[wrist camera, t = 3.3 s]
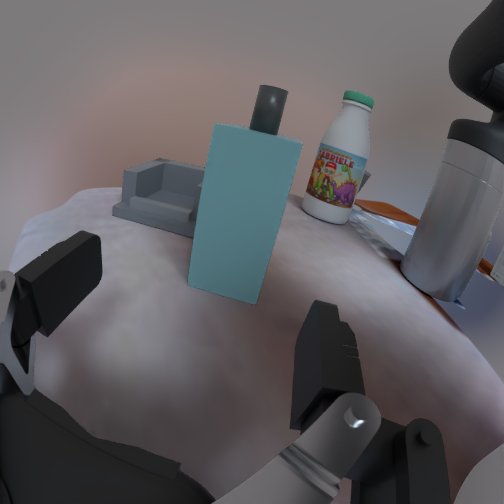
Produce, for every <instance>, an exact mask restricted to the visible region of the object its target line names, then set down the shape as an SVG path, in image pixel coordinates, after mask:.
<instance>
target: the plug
mask: <svg viewBox="0 0 504 504" xmlns="http://www.w3.org/2000/svg"><path fill="white" fill-rule="evenodd" d="M287 94H288V91H286V90H283V89H281V88H277V87H273V86H267V85H260V87H259V92H258V95H257V99H256V103H255V107H254V111H253V115H252V119H251V123H250V127H245V126H240V125H235V124H215V125H214V129H213V134H212V138H211V143H210V149H209V153H208V158H207V163H206V168H205V174H204V179H203V184H202V190H201V196H200V201H199V207H198V213H197V220H196V226H195V232H194V239H193V246H192V253H191V260H190V267H189V275H188V283H187V285H189V286H192V287H195V288H198V289H202V290H205V291H208V292H212V293H215V294H218V295H222V296H225V297H229V298H232V299H236V300H239V301H243V302H246V303H250V304H254V305H256V302H257V299H258V296H259V293H260V289H261V286H262V283H263V280H264V276H265V273H266V270H267V266H268V263H269V260H270V256H271V253H272V250H273V246H274V243H275V240H276V236H277V233H278V229H279V226H280V223H281V219H282V216H283V212H284V209H285V205H286V202H287V199H288V195H289V192H290V188H291V185H292V181H293V177H294V174H295V170H296V167H297V163H298V159H299V156H300V152H301V149H302V145H303V144H302V142H301V141H300V140H297V139H294V138H290V137H286V136H283V135H279V134H277V133H278V129H279V125H280V122H281V118H282V114H283V110H284V106H285V103H286V99H287Z"/></svg>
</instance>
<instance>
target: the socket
mask: <svg viewBox="0 0 504 504" xmlns="http://www.w3.org/2000/svg"><path fill="white" fill-rule="evenodd" d="M205 168H206V167H201V166H196V165H191V164H187V163H182V162H177V161H172V160H167V159H161V158H159V159H156V160H153V161H149V162H146V163H143V164H140V165H137V166H134V167H131V168H128V169H125V170H124V174H123V186H122V202H120V203H118V204H116V205H114V206H113V216H117V217H120V218H124V219H127V220H131V221H135V222H138V223H142V224H145V225H149V226H152V227H156V228H160V229H163V230H167V231H170V232H174V233H177V234H181V235H185V236H188V237H192V238H194V232H195V226H196V220H197V213H198V207H199V201H200V196H201V190H202V184H203V179H204V174H205Z"/></svg>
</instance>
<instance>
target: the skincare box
mask: <svg viewBox="0 0 504 504" xmlns="http://www.w3.org/2000/svg"><path fill="white" fill-rule="evenodd" d="M490 275H491V276H492V277H493V278H494V279H495V280H496V281H497V282H498V283H499V284H500V285H501V286H502V287H503V288H504V246H503V248H502V250H501V253H500V255H499V257H498V259H497V261H496V263H495V265H494V267H493V269H492V271H491V273H490Z"/></svg>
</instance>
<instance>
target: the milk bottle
mask: <svg viewBox="0 0 504 504" xmlns="http://www.w3.org/2000/svg"><path fill="white" fill-rule="evenodd" d="M342 103H343V107H342V110H341V111H340V113H339V115H338V116H337V117H336V119H335V120H334V121H333V122H332V123H331V124H330V126H329V127H328V128H327V130H326V131H325V133H324V135H323V138H322V140H321V143H320V147H319V149H318V152H317V156H316V159H315V163H314V166H313V169H312V173H311V176H310V180H309V183H308V186H307V190H306V193H305V196H304V199H303V203H302V207H303V209H304V211H306V212H307V213H308V214H310V215H312V216H314V217H316V218H318V219H320V220H323V221H326V222H330V223H334V224H345V223H346V222H347V221H348V218H349V216H350V213H351V211H352V208H353V205H354V202H355V199H356V196H357V193H358V191H359V188H360V185H361V182H362V178H363V175H364V172H365V169H366V166H367V162H368V158H369V153H370V136H369V128H368V117H369V114H370V113H371V109H372V108H373V104H374V100H373V99H372V98H370V97H369V96H367V95H364V94H361V93H359V92H355V91H346V92H345V93H344V97H343V102H342Z"/></svg>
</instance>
